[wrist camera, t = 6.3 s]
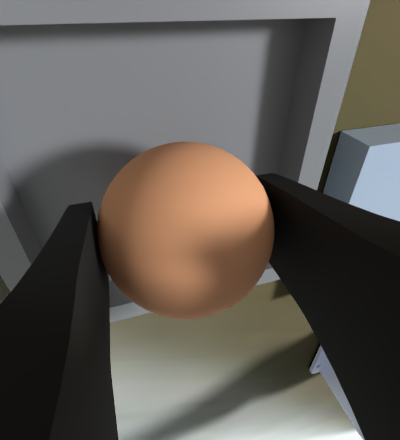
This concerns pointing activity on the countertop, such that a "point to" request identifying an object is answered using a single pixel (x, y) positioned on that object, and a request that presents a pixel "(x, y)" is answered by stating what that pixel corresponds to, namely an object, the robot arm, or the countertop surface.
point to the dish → (368, 170)
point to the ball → (185, 230)
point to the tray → (159, 98)
